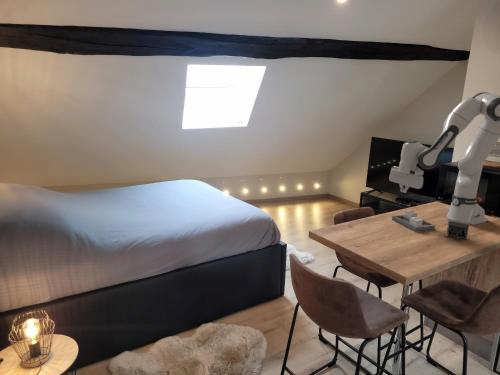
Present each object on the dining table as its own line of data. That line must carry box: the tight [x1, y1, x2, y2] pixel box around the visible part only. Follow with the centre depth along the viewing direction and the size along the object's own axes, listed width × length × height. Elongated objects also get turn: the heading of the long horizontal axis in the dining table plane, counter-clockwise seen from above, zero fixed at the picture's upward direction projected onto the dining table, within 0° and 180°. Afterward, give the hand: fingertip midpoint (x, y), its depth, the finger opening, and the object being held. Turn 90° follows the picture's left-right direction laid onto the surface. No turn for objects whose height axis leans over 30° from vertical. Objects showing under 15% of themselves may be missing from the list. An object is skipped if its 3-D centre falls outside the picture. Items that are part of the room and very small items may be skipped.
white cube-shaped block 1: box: [404, 209, 418, 218], centre depth 206 cm, size 4×5×5 cm
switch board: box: [391, 214, 436, 233], centre depth 200 cm, size 12×19×3 cm, turn 16°
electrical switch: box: [445, 219, 471, 241], centre depth 182 cm, size 9×5×9 cm, turn 57°
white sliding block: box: [409, 216, 424, 227], centre depth 194 cm, size 4×5×5 cm
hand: (403, 192), depth 210 cm, fingers closed
